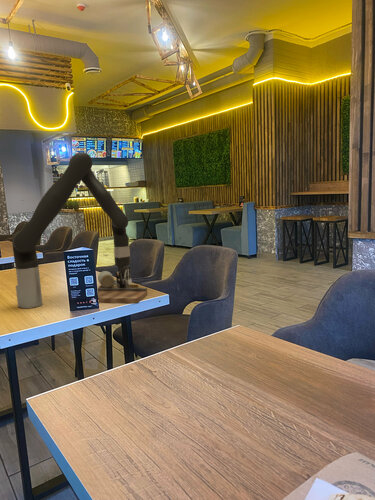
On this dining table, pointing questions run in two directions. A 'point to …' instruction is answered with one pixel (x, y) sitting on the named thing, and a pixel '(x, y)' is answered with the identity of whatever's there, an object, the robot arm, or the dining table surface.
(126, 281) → the marking gauge
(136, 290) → the walnut board
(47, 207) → the robot arm
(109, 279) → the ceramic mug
